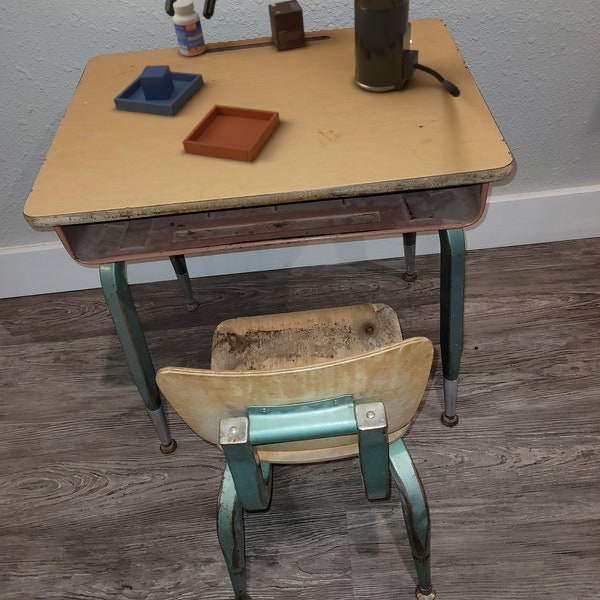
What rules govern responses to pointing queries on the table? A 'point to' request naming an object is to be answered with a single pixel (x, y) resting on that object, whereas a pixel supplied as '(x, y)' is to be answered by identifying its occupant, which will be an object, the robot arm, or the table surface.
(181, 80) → the blue tray
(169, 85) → the blue block
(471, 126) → the table surface
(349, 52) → the table surface
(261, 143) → the warm tray
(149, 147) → the table surface
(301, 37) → the box
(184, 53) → the pill bottle
